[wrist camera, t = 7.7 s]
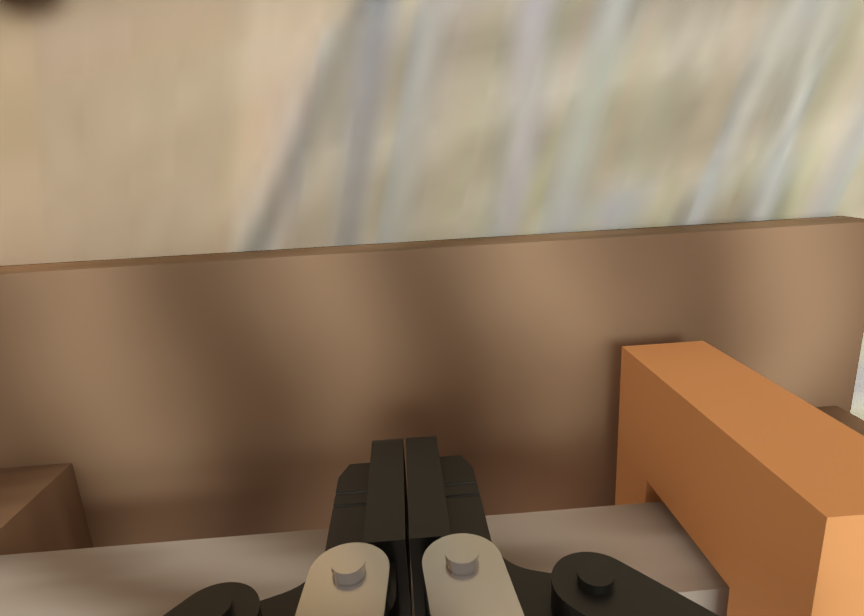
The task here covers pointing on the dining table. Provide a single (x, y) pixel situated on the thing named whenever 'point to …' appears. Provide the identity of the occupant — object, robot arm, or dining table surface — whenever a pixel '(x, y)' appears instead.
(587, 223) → the dining table surface
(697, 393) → the collar
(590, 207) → the dining table surface
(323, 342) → the pipe stand
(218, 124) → the dining table surface
